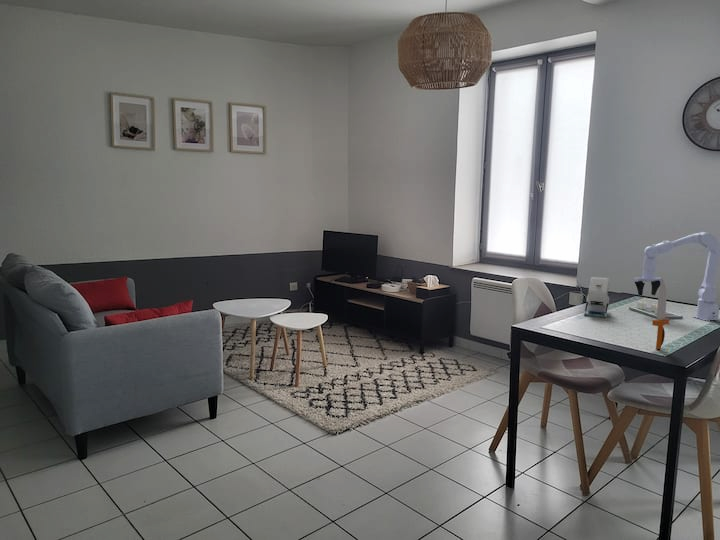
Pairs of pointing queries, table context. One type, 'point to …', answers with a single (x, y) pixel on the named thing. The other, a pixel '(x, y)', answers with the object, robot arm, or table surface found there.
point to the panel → (652, 313)
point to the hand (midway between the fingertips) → (646, 295)
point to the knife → (661, 315)
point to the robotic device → (597, 297)
